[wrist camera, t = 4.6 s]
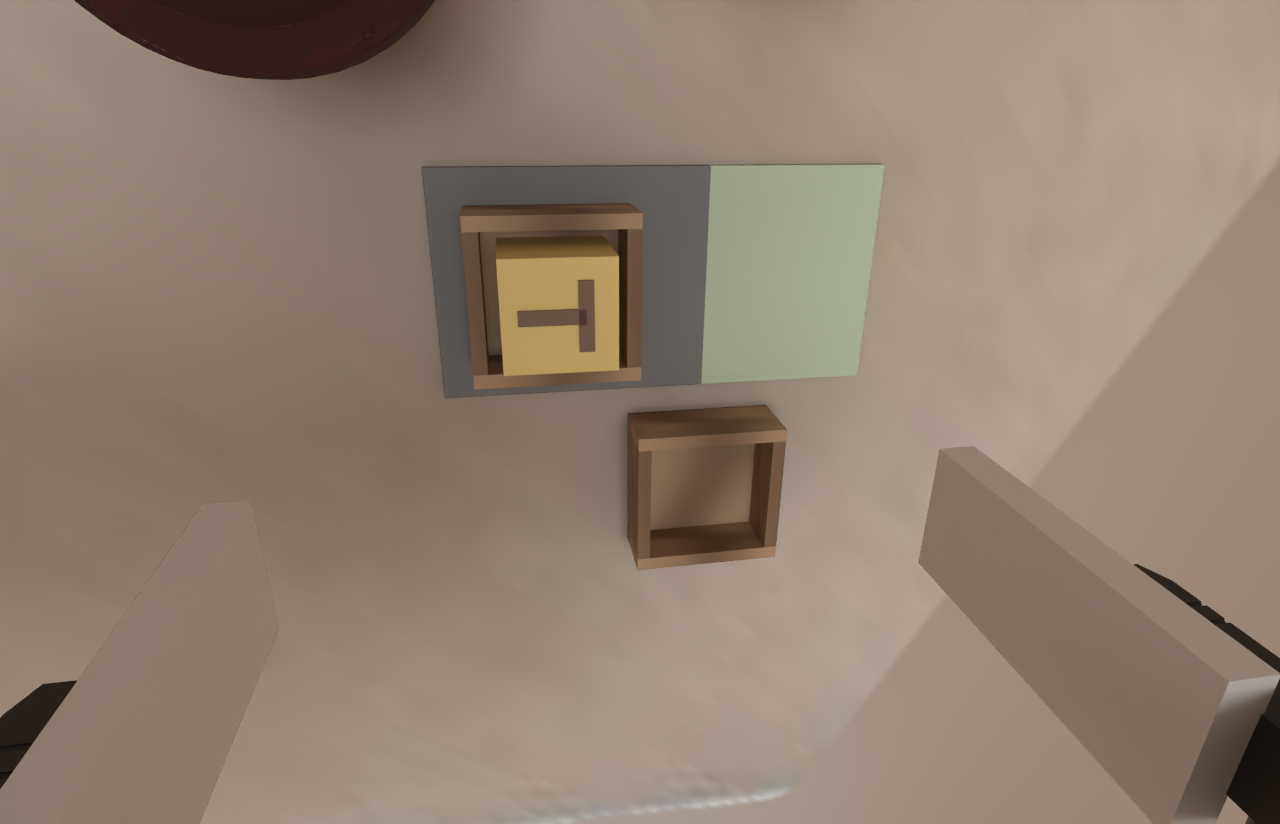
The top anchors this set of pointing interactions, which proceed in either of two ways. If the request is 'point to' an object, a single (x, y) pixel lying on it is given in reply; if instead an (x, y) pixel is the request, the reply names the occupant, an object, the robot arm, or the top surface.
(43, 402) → the top surface
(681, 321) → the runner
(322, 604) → the top surface
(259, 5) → the coffee cup
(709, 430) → the box
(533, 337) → the letter cube
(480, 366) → the box
